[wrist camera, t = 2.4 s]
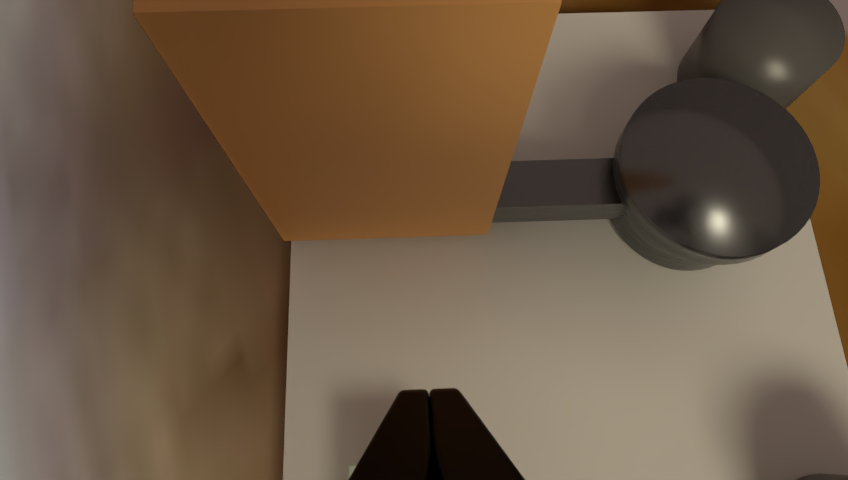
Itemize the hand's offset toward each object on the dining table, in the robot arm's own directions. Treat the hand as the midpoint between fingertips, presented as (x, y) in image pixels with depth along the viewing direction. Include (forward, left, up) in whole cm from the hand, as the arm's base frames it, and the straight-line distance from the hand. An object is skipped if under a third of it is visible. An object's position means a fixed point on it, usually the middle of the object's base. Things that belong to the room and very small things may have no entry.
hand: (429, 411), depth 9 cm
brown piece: (+6, -4, -8) cm, 11 cm away
